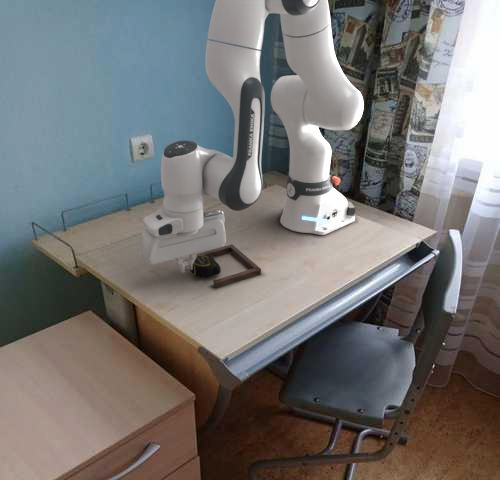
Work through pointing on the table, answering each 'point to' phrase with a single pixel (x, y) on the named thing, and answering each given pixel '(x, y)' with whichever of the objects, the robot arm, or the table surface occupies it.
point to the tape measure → (205, 266)
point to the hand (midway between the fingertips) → (186, 269)
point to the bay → (239, 255)
